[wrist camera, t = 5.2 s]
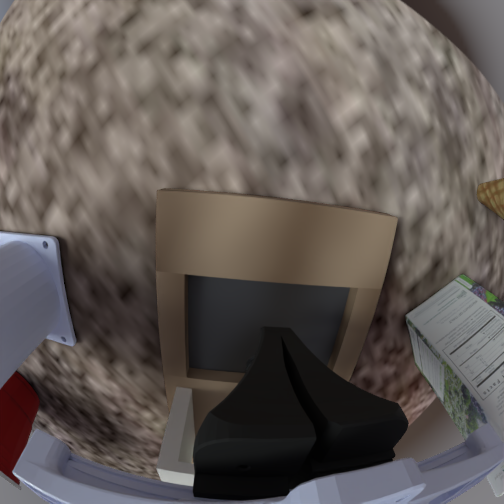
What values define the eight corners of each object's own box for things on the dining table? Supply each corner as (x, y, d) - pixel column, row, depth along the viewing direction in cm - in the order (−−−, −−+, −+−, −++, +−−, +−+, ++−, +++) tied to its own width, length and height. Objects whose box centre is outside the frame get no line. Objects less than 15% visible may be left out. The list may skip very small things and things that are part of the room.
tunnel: (182, 434, 17) (171, 501, 11) (176, 386, 15) (156, 468, 9) (312, 439, 18) (325, 502, 12) (333, 393, 16) (359, 468, 10)
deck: (183, 466, 21) (181, 475, 20) (164, 188, 13) (156, 190, 12) (296, 470, 22) (297, 480, 20) (387, 213, 14) (398, 218, 12)
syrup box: (465, 325, 16) (565, 432, 3) (411, 365, 17) (497, 502, 3) (460, 271, 15) (602, 382, 1) (399, 315, 16) (527, 482, 2)
